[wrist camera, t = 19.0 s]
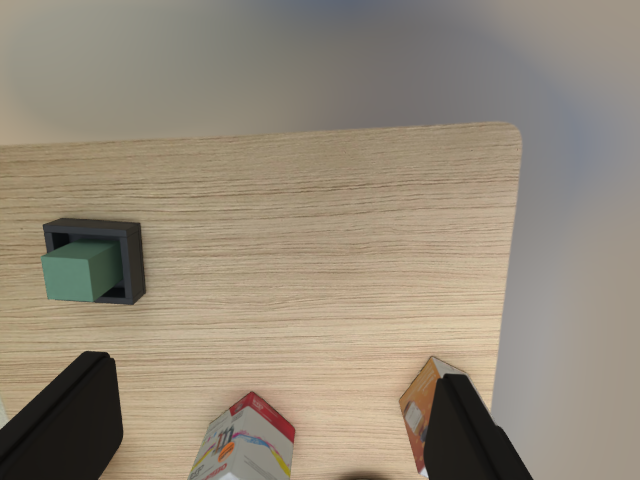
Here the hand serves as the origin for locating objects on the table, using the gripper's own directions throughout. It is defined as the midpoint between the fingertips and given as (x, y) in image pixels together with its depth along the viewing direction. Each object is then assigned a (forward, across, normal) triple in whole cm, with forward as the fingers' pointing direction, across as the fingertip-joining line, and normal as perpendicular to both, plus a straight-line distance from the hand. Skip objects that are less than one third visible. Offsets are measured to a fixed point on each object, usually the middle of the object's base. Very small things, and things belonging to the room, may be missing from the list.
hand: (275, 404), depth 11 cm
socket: (+30, +23, +8) cm, 39 cm away
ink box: (+31, +6, +31) cm, 44 cm away
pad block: (+30, +23, +8) cm, 38 cm away
